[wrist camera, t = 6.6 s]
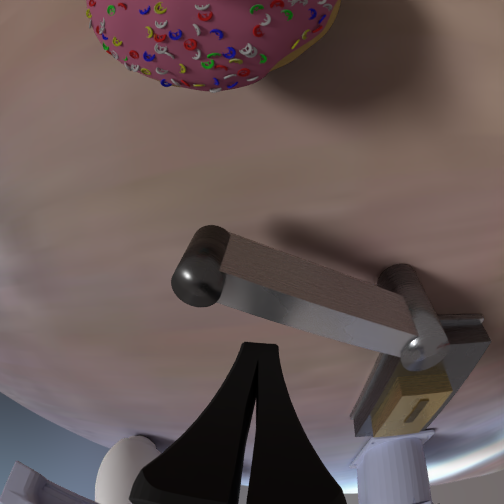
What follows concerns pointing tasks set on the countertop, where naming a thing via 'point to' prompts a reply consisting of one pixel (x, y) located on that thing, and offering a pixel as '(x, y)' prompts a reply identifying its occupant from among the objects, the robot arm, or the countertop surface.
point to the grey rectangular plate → (454, 364)
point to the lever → (313, 296)
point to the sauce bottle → (123, 469)
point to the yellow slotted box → (410, 404)
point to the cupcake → (209, 37)
